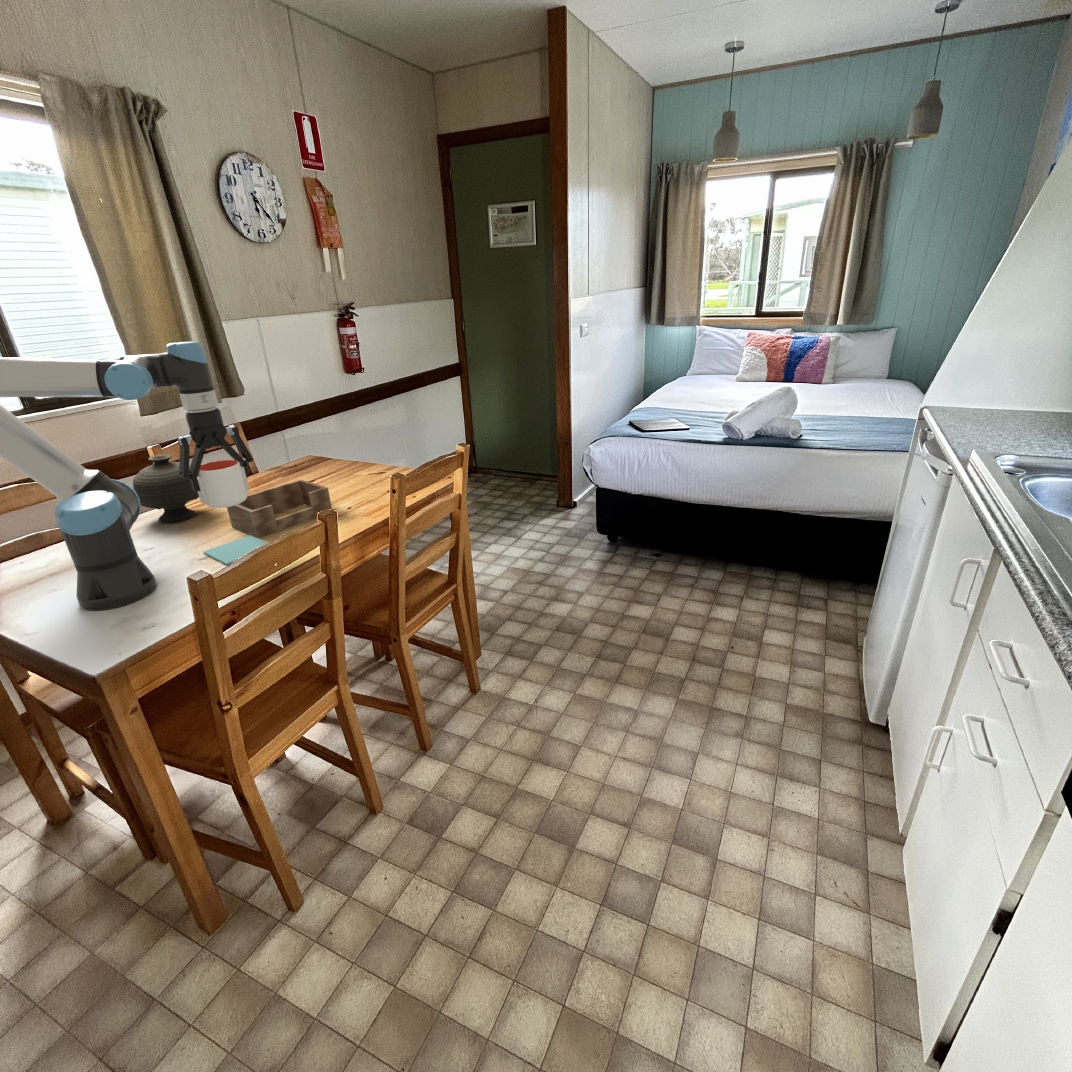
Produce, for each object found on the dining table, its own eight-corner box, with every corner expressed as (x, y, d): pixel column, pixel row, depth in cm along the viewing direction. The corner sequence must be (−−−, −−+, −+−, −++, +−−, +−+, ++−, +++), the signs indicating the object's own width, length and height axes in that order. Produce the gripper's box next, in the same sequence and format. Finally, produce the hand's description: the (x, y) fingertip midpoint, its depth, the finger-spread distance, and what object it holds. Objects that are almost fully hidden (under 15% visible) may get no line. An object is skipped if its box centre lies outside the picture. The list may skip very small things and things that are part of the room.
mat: (227, 565, 148) (226, 563, 147) (203, 553, 155) (203, 551, 155) (275, 547, 157) (274, 545, 157) (250, 536, 164) (250, 535, 164)
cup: (231, 510, 145) (221, 471, 141) (196, 509, 147) (185, 470, 143) (256, 496, 154) (247, 459, 150) (223, 495, 156) (213, 459, 152)
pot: (225, 508, 185) (201, 448, 176) (172, 533, 171) (144, 470, 162) (189, 502, 193) (166, 444, 184) (137, 526, 179) (108, 465, 170)
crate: (258, 538, 163) (251, 512, 160) (232, 527, 172) (225, 501, 168) (332, 512, 180) (327, 487, 177) (305, 503, 189) (300, 479, 186)
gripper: (157, 420, 131) (186, 512, 140) (254, 402, 147) (274, 486, 156) (144, 416, 135) (172, 506, 144) (240, 399, 151) (260, 481, 160)
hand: (225, 496), depth 150 cm, fingers closed on cup, 10 cm apart
